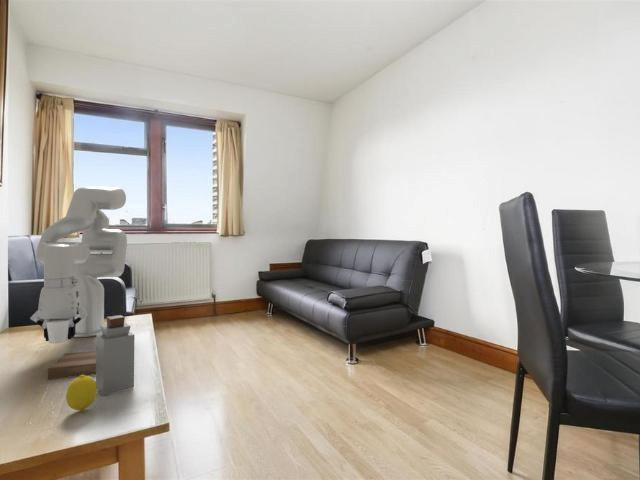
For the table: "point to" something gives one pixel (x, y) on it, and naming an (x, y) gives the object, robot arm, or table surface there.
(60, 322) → the white cup
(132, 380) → the perfume bottle
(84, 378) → the lemon
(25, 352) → the table surface
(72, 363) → the walnut plinth
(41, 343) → the table surface
